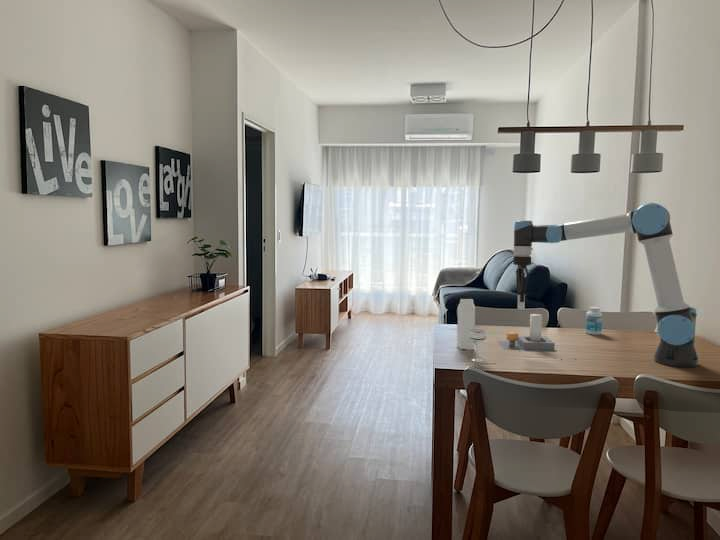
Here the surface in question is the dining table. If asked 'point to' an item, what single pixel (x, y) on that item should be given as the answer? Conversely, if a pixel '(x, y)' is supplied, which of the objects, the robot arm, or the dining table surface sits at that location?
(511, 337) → the orange rounded knob
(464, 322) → the milk
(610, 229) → the robot arm
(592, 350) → the dining table surface
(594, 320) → the pill bottle
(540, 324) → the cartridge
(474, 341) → the wineglass
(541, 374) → the dining table surface
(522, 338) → the housing
